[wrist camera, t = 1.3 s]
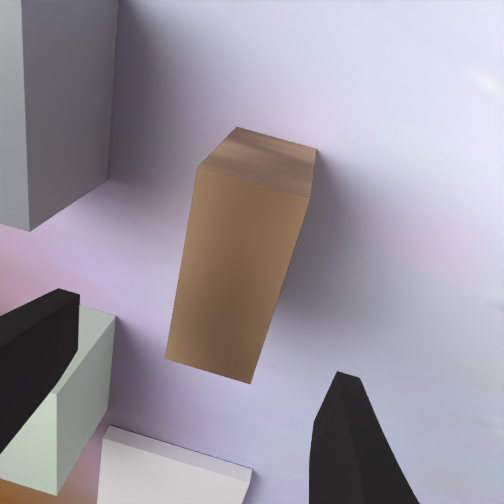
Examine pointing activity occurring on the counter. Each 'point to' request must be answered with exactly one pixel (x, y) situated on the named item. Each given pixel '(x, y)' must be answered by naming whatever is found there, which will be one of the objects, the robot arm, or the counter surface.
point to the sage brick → (65, 411)
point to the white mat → (165, 473)
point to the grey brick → (54, 104)
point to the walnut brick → (238, 250)
